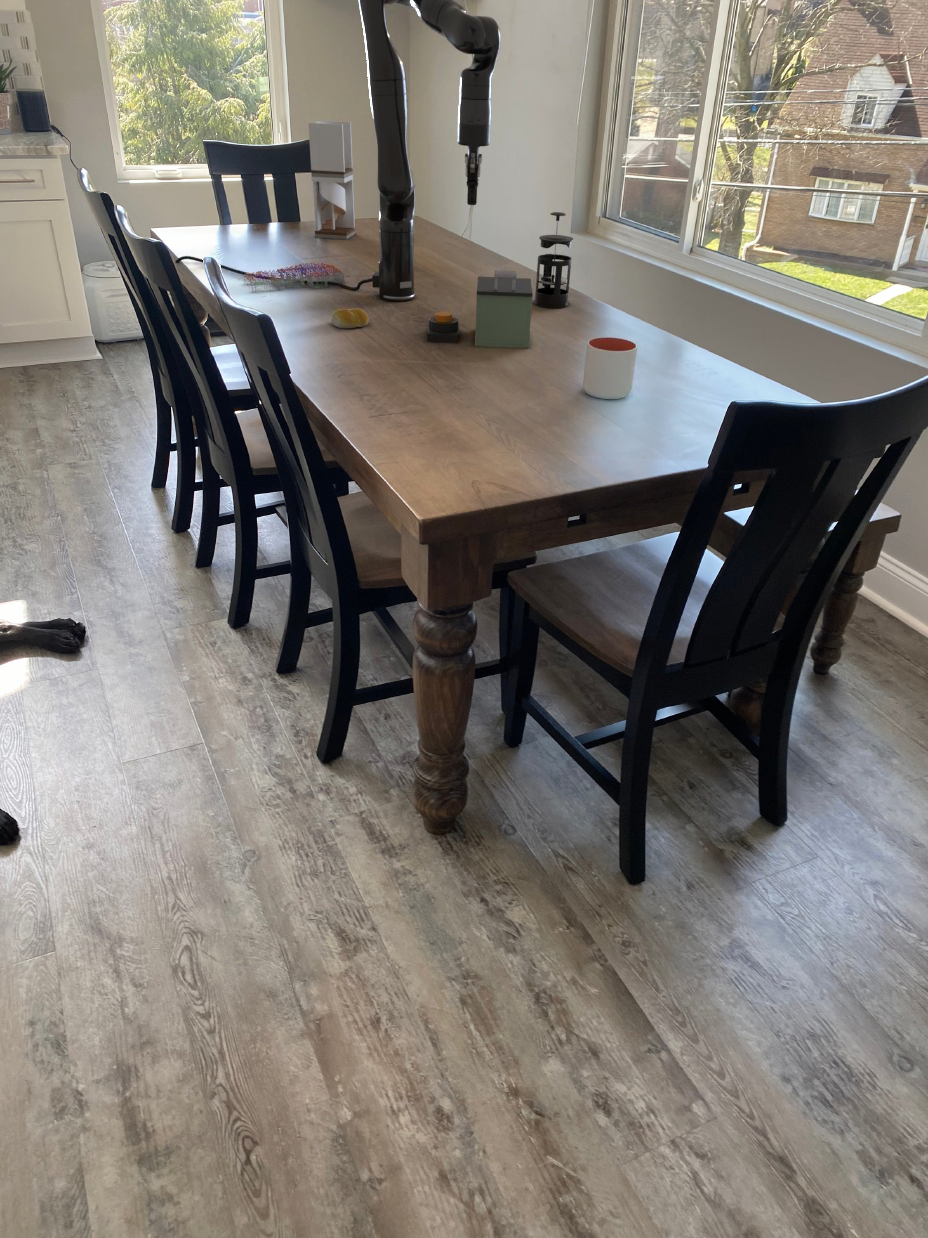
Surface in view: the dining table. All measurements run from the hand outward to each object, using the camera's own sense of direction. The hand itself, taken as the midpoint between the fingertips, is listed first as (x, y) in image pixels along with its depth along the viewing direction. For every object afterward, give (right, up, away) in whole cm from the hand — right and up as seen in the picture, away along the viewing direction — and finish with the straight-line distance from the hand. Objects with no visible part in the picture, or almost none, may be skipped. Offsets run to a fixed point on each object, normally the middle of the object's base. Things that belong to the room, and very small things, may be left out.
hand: (471, 204), depth 212 cm
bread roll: (-30, -26, +8) cm, 41 cm away
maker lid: (+8, -22, -5) cm, 24 cm away
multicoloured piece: (-50, -4, +40) cm, 64 cm away
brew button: (-7, -28, 0) cm, 29 cm away
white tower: (-47, +37, +102) cm, 119 cm away
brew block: (-7, -31, +2) cm, 32 cm away
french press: (+22, -13, +31) cm, 40 cm away
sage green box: (+7, -32, +1) cm, 33 cm away
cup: (+27, -52, -29) cm, 66 cm away
